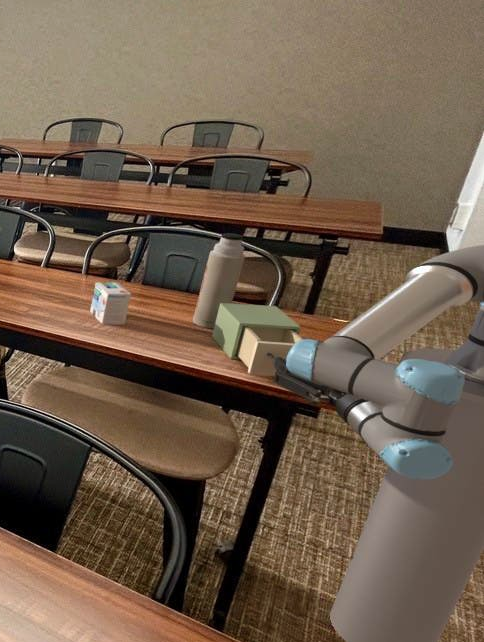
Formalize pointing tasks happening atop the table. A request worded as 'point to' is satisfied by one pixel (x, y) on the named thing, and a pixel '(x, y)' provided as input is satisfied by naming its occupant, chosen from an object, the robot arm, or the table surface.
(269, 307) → the cabinet
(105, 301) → the light bulb box
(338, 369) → the robot arm
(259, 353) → the drawer
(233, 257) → the thermos bottle
